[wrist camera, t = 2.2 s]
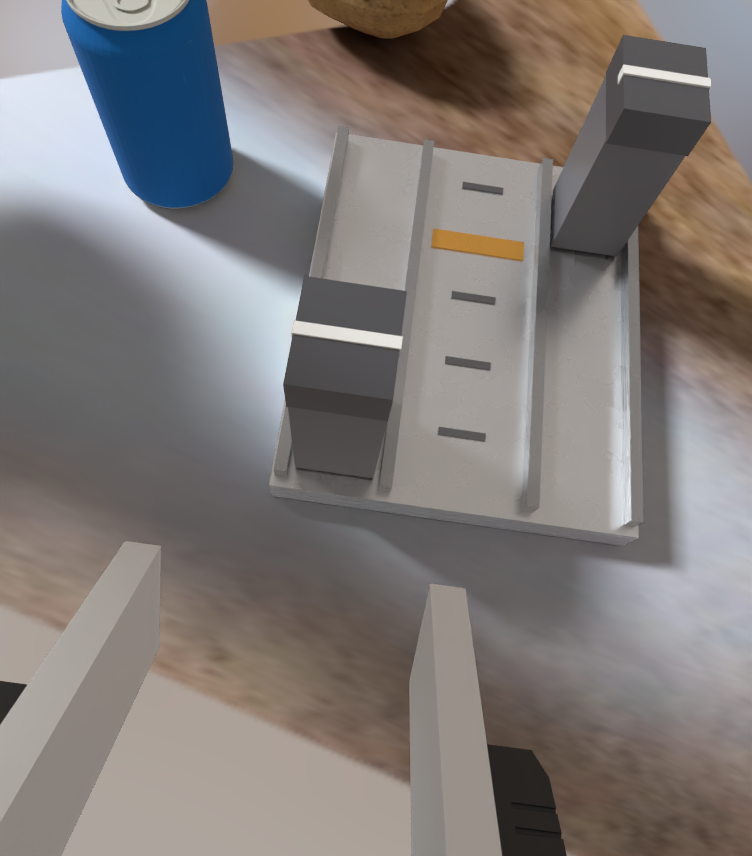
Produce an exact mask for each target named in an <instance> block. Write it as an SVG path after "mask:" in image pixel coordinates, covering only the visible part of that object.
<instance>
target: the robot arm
mask: <svg viewBox="0 0 752 856" xmlns="http://www.w3.org/2000/svg"><path fill="white" fill-rule="evenodd" d="M160 578H161V546H158V545H151V544H144V543H137V542H129V541H124V543H123V544H122V546H121V547H120V549H119V550H118V552H117V553H116V555H115V556H114V558H113V559H112V561H111V562H110V564H109V565H108V566H107V568H106V569H105V571H104V572H103V574H102V575H101V577H100V578H99V580H98V581H97V583H96V584H95V586H94V587H93V589H92V590H91V592H90V593H89V595H88V596H87V597H86V599H85V600H84V602H83V603H82V605H81V606H80V608H79V609H78V611H77V612H76V614H75V615H74V617H73V618H72V620H71V621H70V623H69V624H68V626H67V627H66V629H65V630H64V631H63V633H62V634H61V636H60V637H59V639H58V641H57V642H56V643H55V645H54V646H53V648H52V649H51V651H50V652H49V654H48V655H47V657H46V658H45V660H44V661H43V662H42V664H41V665H40V667H39V668H38V670H37V671H36V673H35V674H34V676H33V677H32V679H31V680H30V682H29V683H28V685H26V684H19V683H11V682H4V681H0V856H61V855H62V853H63V851H64V848H65V846H66V844H67V842H68V840H69V838H70V836H71V834H72V832H73V829H74V827H75V825H76V823H77V821H78V819H79V817H80V815H81V813H82V810H83V808H84V806H85V804H86V802H87V800H88V798H89V796H90V793H91V791H92V789H93V787H94V785H95V783H96V781H97V778H98V776H99V774H100V772H101V770H102V768H103V766H104V764H105V762H106V759H107V757H108V755H109V753H110V751H111V749H112V747H113V745H114V742H115V740H116V738H117V736H118V734H119V732H120V729H121V728H122V725H123V723H124V721H125V719H126V717H127V714H128V713H129V711H130V708H131V706H132V704H133V702H134V700H135V698H136V696H137V694H138V691H139V689H140V687H141V685H142V683H143V681H144V679H145V677H146V675H147V672H148V670H149V668H150V666H151V664H152V662H153V660H154V658H155V655H156V653H157V651H158V649H159V637H160ZM409 695H410V778H411V852H412V853H411V856H567V855H566V851H565V846H564V842H563V839H561V829H560V824H559V820H558V815H557V814H556V812H555V810H556V806H555V802H554V798H553V793H552V789H551V784H550V780H549V777H548V775H547V774H546V772H545V771H544V769H543V768H542V766H541V765H540V763H539V761H538V760H537V758H536V757H535V755H534V754H533V752H532V750H525V749H517V748H510V747H502V746H495V745H487V742H486V734H485V727H484V720H483V713H482V705H481V698H480V691H479V683H478V676H477V669H476V662H475V654H474V647H473V640H472V632H471V625H470V618H469V610H468V603H467V596H466V589H465V588H459V587H452V586H445V585H438V584H431V583H430V586H429V591H428V595H427V600H426V605H425V610H424V614H423V619H422V624H421V629H420V633H419V638H418V643H417V647H416V652H415V657H414V662H413V666H412V671H411V676H410V680H409Z"/></svg>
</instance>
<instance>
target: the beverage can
mask: <svg viewBox="0 0 752 856" xmlns="http://www.w3.org/2000/svg"><path fill="white" fill-rule="evenodd" d="M61 12H62V19H63V23H64V25H65V28H66V31H67V33H68V36H69V38H70V41H71V44H72V46H73V48H74V51H75V54H76V56H77V59H78V62H79V64H80V67H81V69H82V72H83V75H84V77H85V80H86V82H87V85H88V87H89V90H90V93H91V95H92V98H93V100H94V103H95V105H96V108H97V111H98V113H99V116H100V118H101V121H102V124H103V126H104V129H105V131H106V134H107V136H108V139H109V142H110V144H111V147H112V149H113V152H114V155H115V157H116V160H117V162H118V165H119V167H120V170H121V173H122V175H123V178H124V180H125V182H126V184H127V186H128V187H129V188H130V189H131V191H132V192H133V193H134V194H135V195H136V196H138V197H139V198H141V199H142V200H144V201H146V202H148V203H150V204H153V205H156V206H160V207H165V208H186V207H192V206H195V205H199V204H201V203H204V202H206V201H208V200H209V199H211V198H213V197H214V196H215V195H217V194H218V193H219V192H220V191H221V190H222V189H223V188H224V187H225V185H226V184H227V182H228V181H229V179H230V176H231V173H232V169H233V156H232V150H231V144H230V138H229V132H228V126H227V120H226V114H225V108H224V102H223V96H222V91H221V85H220V79H219V73H218V67H217V61H216V55H215V49H214V43H213V37H212V31H211V25H210V19H209V13H208V7H207V2H206V0H62V11H61Z"/></svg>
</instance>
